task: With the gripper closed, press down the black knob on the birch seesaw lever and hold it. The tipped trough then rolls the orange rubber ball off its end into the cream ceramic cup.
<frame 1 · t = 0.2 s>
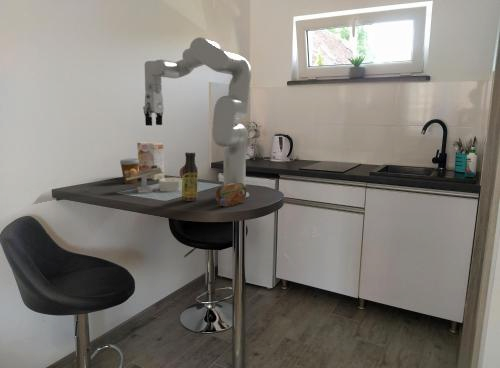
hand: (154, 125, 178), 30 cm above the counter, tool pointing down, fingers open, 9 cm apart
brown food tub: (130, 182, 191), on the counter
sandwich: (231, 204, 147), on the counter
lever stand: (144, 190, 171), on the counter
birch lever: (142, 170, 173), point 9 cm above the counter, hinge at -10.0°, touching orange ball
onion: (189, 182, 194), on the counter
sauce bottle: (190, 200, 153), on the counter
coffeecake box: (151, 178, 207), on the counter
orange ball: (132, 172, 168), point 9 cm above the counter, tilted 11°, touching birch lever
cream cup: (171, 189, 175), on the counter
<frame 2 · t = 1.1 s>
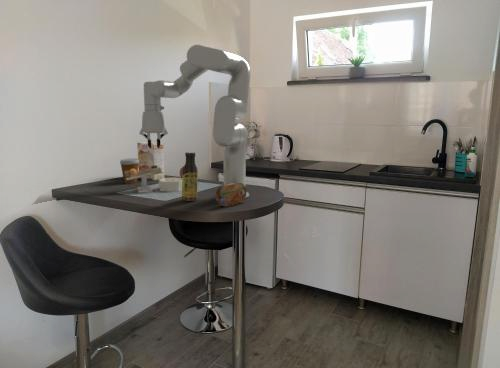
hand: (154, 147, 177), 19 cm above the counter, tool pointing down, fingers open, 3 cm apart
nothing on the counter moved.
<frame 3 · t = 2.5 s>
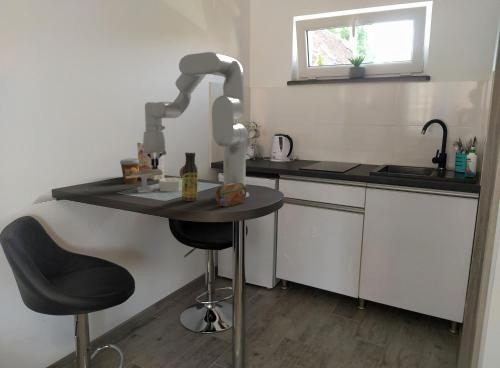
hand: (155, 166, 179), 10 cm above the counter, tool pointing down, fingers closed
birch lever: (142, 170, 173), point 9 cm above the counter, hinge at -3.6°, touching gripper, orange ball
orange ball: (133, 170, 168), point 9 cm above the counter, tilted 5°, touching birch lever
everything else where it was.
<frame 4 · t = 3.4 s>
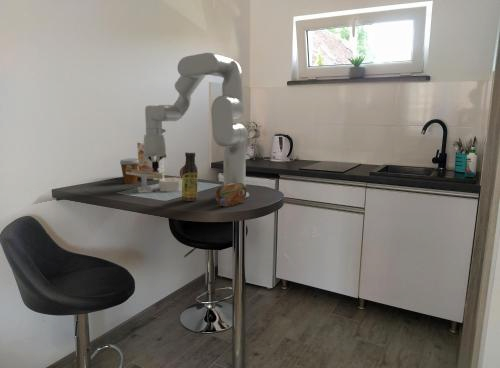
hand: (155, 169, 179), 8 cm above the counter, tool pointing down, fingers closed
birch lever: (143, 170, 173), point 9 cm above the counter, hinge at 10.7°, touching gripper
orange ball: (178, 184, 176), point 2 cm above the counter, tilted 10°, touching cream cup
everything else where it was.
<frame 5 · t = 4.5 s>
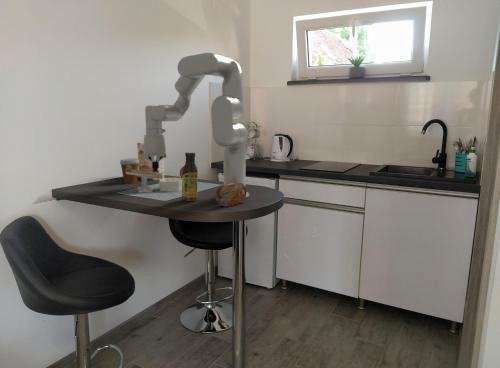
hand: (155, 169, 179), 8 cm above the counter, tool pointing down, fingers closed
orange ball: (173, 184, 175), point 2 cm above the counter, tilted 70°, touching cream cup
everything else where it was.
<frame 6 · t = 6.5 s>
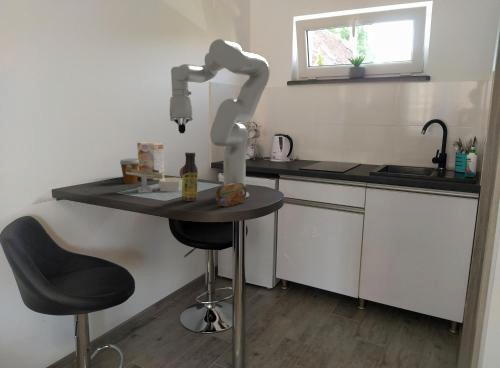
hand: (182, 133, 177), 26 cm above the counter, tool pointing down, fingers closed
birch lever: (143, 170, 173), point 9 cm above the counter, hinge at 10.7°
orange ball: (165, 185, 174), point 2 cm above the counter, tilted 145°, touching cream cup
everything else where it was.
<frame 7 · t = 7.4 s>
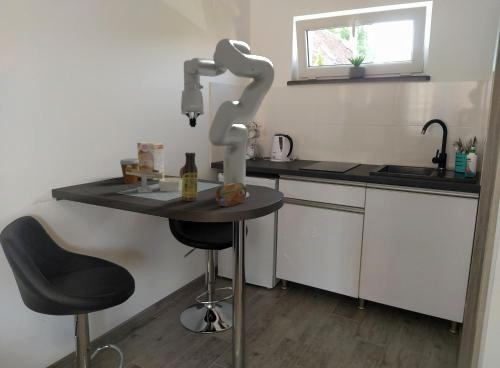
hand: (192, 126, 178), 29 cm above the counter, tool pointing down, fingers closed
orange ball: (164, 185, 174), point 2 cm above the counter, tilted 136°, touching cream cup
everything else where it was.
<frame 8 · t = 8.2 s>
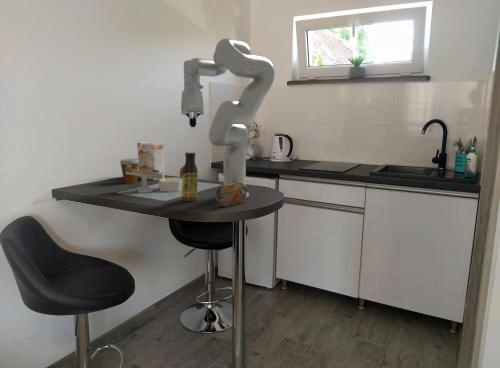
hand: (192, 126, 178), 29 cm above the counter, tool pointing down, fingers closed
nothing on the counter moved.
at the end: orange ball inside the target area on the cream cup (3.3 cm from its centre), point 2.1 cm above the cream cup's base; orange ball moved 15.3 cm from its start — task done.
